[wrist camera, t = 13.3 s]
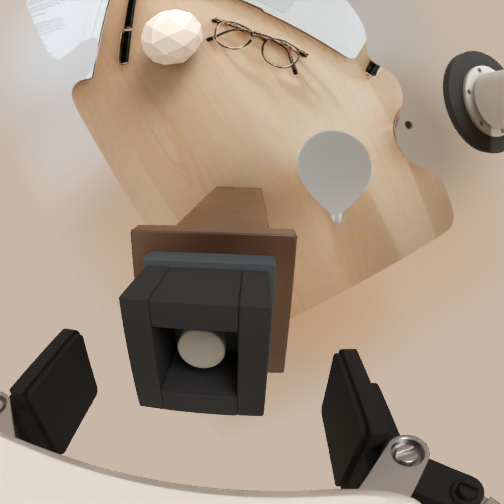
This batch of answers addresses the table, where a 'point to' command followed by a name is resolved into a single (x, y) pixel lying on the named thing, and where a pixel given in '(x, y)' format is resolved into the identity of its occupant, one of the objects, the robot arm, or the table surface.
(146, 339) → the dark grey square frame
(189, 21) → the geometric ball
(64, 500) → the robot arm
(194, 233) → the stand
